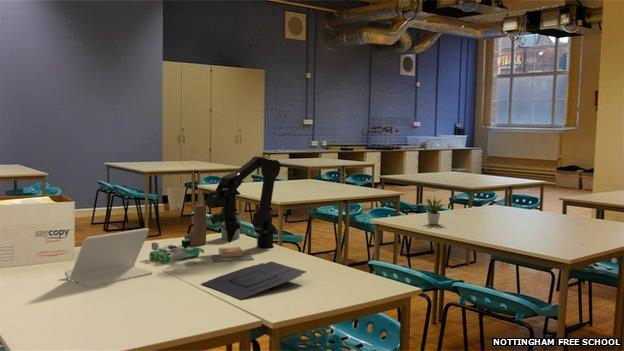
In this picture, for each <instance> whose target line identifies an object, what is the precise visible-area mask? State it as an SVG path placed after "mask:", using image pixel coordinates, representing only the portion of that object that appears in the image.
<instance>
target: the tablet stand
mask: <svg viewBox="0 0 624 351" xmlns="http://www.w3.org/2000/svg"><path fill="white" fill-rule="evenodd" d="M149 232H150V229H149V228H148V227H145V228H138V229H132V230H126V231H119V232H114V233H113V232H112V233H111V232H110V233H105V234H104V233H103V234H99V235H91V236H86V237H84V238H83V240H82V241H83V242H82V244H81V247H80V249H79V253H78V255H77V257H76V260H75V263H74V266H73V268H71V269H67V270H65V271H64V275H65V277H66V278H67V280H68V279H70V280H73V281H75V282H74V283H76V282H78V283H80V284H79V285H81V284H83V285H82V286H84V285H85V286H84V287H86V286H88V287H87V288H90V287H91V288H94V287H93V286H96V287H100V286H99V285H101V286H104V285H103V284H105V285H109V284H108V283H110V284H113V282H114V283H117V281H119V282H121V281H128V280H132V279H131V278H133V279H137V278H141V277H145V276H146V277H147V276H151V275H153V271H151V270H147V269H144V268H141V267H137V266H136V265H135V264H136V262H137V260H138V257H139V255H140V252H141V250H142V248H143V245H144V243H145V241H146V239H147V236H148V234H149ZM127 279H128V280H127ZM70 280H69V281H70ZM73 281H72V282H73ZM78 283H77V284H78Z"/></svg>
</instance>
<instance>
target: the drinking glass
mask: <svg viewBox="0 0 624 351" xmlns="http://www.w3.org/2000/svg"><path fill="white" fill-rule="evenodd" d="M236 218H237V222H238V223H240V227H241V224H242V222H241V221H242V213H241V212H238V211H236ZM221 225H223V222H222V223H220V227H221V228H220V231H221V239H222V240H225V241H226V240H227V241H228V239H227V235H226V231H225V229H224V228H223V227H222V226H221ZM240 237H241V228H240V229H237V230H236V232H235V234H234V236H233V239H232V241H234V240H239V239H240Z"/></svg>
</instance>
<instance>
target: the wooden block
mask: <svg viewBox="0 0 624 351" xmlns="http://www.w3.org/2000/svg"><path fill="white" fill-rule="evenodd" d="M183 238H184V240H185V239H190V245H189V246H188V247H197V246H203V245H204V246H205V245H207V205H204V204H194V205H193V229H192V230H191V232H190V233H187V234H185V235H184V237H183Z"/></svg>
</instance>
